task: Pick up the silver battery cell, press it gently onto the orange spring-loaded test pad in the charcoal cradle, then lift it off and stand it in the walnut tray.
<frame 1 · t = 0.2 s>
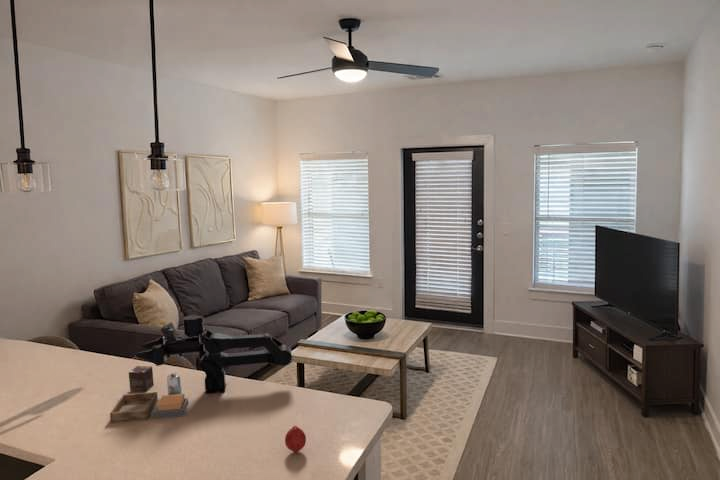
hand: (139, 350, 178), 16 cm above the worktop, tool horizontal, fingers open, 9 cm apart
test pad: (171, 402, 168), point 3 cm above the worktop, slide at 0.0 cm
cell: (174, 394, 180), on the worktop
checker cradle: (172, 410, 168), on the worktop
tray: (135, 410, 168), on the worktop
onion: (295, 452, 142), on the worktop
box: (142, 388, 186), on the worktop
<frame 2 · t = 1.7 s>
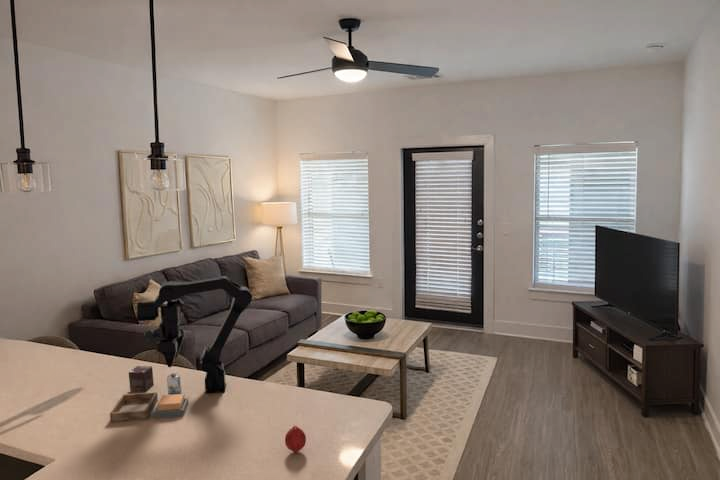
hand: (172, 362, 179), 12 cm above the worktop, tool pointing down, fingers open, 9 cm apart
nothing on the worktop moved.
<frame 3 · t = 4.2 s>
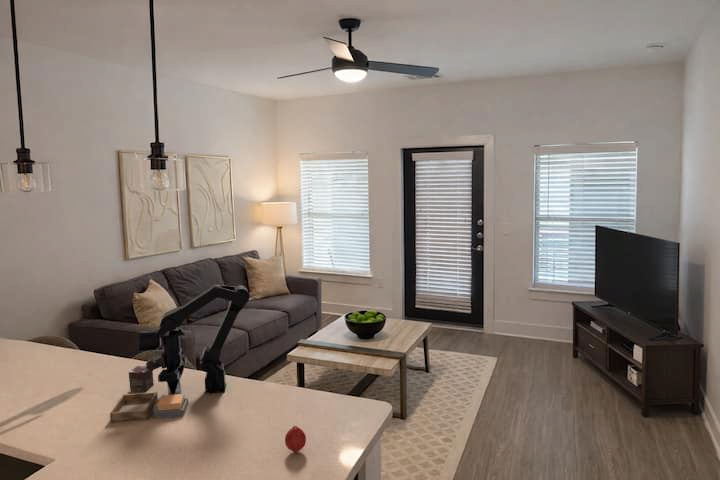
hand: (174, 390, 180), 2 cm above the worktop, tool pointing down, fingers closed on cell, 4 cm apart
cell: (174, 394, 180), on the worktop, touching gripper
everything else where it was.
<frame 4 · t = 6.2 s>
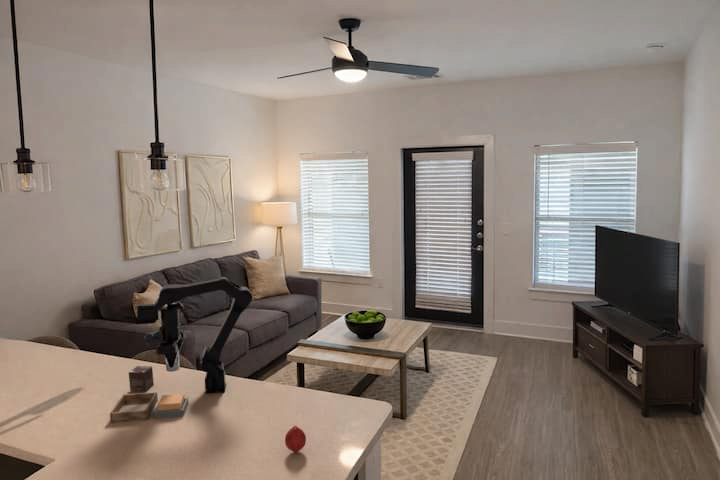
hand: (172, 365, 179), 11 cm above the worktop, tool pointing down, fingers closed on cell, 4 cm apart
cell: (173, 369, 179), point 9 cm above the worktop, touching gripper
everything else where it was.
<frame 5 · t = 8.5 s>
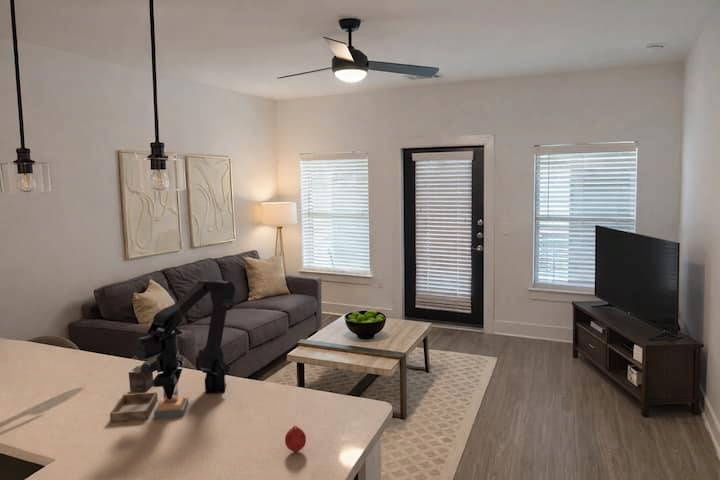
hand: (171, 396, 168), 5 cm above the worktop, tool pointing down, fingers closed on cell, 4 cm apart
test pad: (171, 403, 168), point 2 cm above the worktop, slide at 0.5 cm, touching cell
cell: (171, 400, 168), point 3 cm above the worktop, touching gripper, test pad
everything else where it was.
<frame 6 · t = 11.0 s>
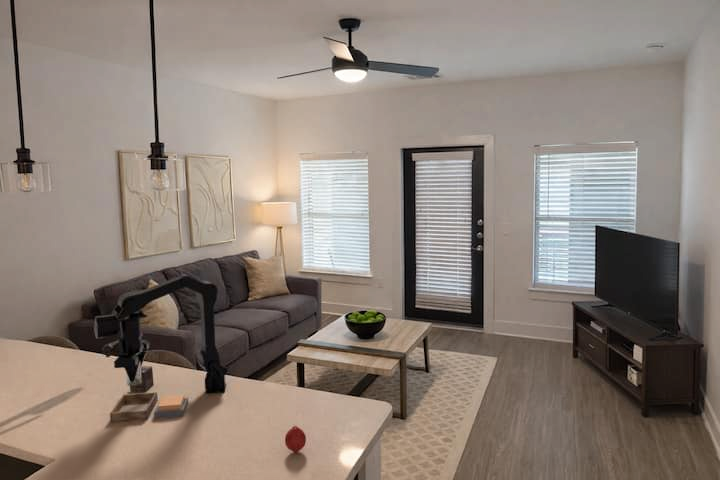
hand: (134, 378, 167), 11 cm above the worktop, tool pointing down, fingers closed on cell, 4 cm apart
test pad: (171, 403, 168), point 2 cm above the worktop, slide at 0.5 cm
cell: (134, 383, 167), point 10 cm above the worktop, touching gripper
everything else where it was.
when the fingers open (3 cm above the worktop, at t = 12.9 s): cell stays where it is, resting on tray.
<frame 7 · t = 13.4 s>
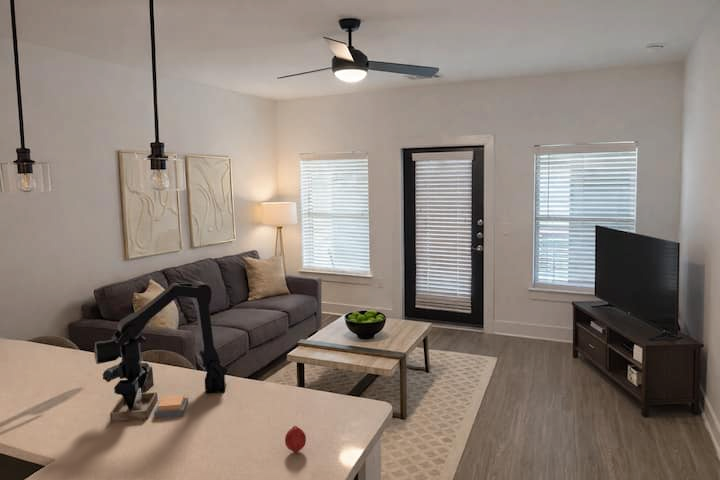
hand: (134, 402, 168), 3 cm above the worktop, tool pointing down, fingers open, 9 cm apart
cell: (135, 409, 168), resting on tray
everything else where it was.
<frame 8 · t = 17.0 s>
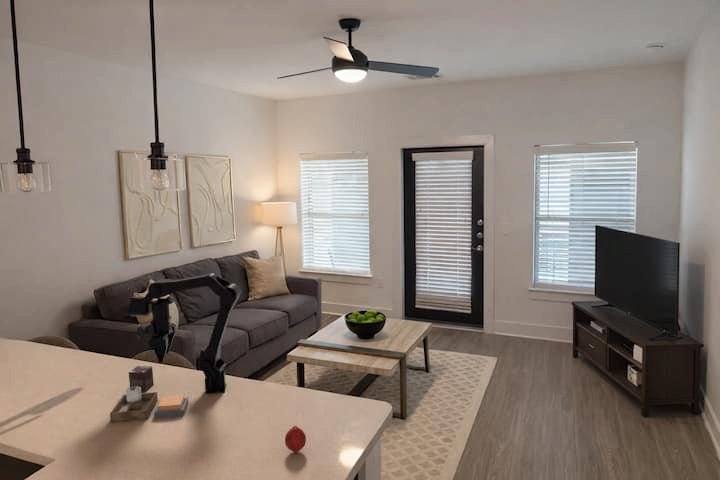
hand: (163, 357, 183), 12 cm above the worktop, tool pointing down, fingers open, 9 cm apart
nothing on the worktop moved.
at the end: cell inside the target area on the tray (0.1 cm from its centre), point 0.5 cm above the tray's base; cell tilted 0°; the gripper is holding nothing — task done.
